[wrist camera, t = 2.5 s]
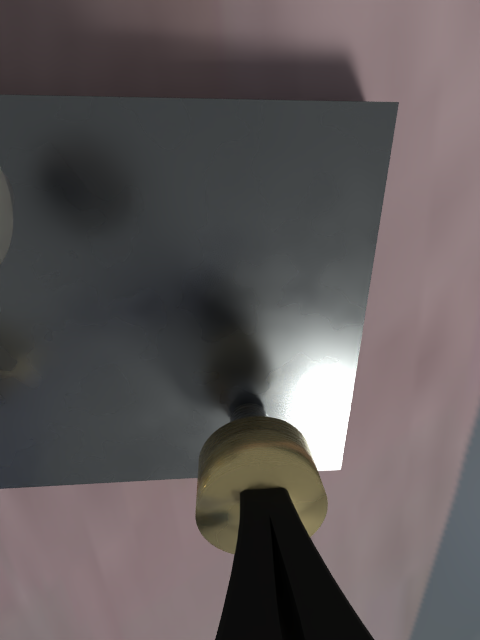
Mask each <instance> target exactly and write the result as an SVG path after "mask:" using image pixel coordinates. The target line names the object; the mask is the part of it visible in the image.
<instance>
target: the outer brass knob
mask: <svg viewBox="0 0 480 640" xmlns="http://www.w3.org/2000/svg"><path fill="white" fill-rule="evenodd" d="M269 488H285V489H286V490H288V493H289V495H290V498H291V500H292V502H293V504H294V507H295V509H296V511H297V513H298V515H299V517H300V519H301V521H302V523H303V525H304V527H305V529H306V531H307V533H308V535H309V536H310V537H311V536H312V535H313V534H314V533H315V532H316V531H317V530H318V528H319V527H320V526H321V524H322V523H323V521H324V518H325V516H326V513H327V506H328V502H327V496H326V493H325V490H324V487H323V484H322V482H321V479H320V476H319V473H318V470H317V468H316V465H315V462H314V459H313V456H312V454H311V451H310V448H309V445H308V442H307V441H306V439H305V437H304V436H303V434H302V433H301V432H300V431H299V430H298V429H297V428H296V427H294V426H293V425H291V424H289V423H288V422H286V421H283V420H280V419H277V418H273V417H268V416H267V413H266V411H265V410H264V409H263V408H262V407H261V406H259V405H257V404H251V403H249V404H243V405H241V406H239V407H237V408H236V409H235V410H234V411H233V412H232V414H231V416H230V423H227V424H225V425H224V426H222V427H220V428H219V429H218V430H216V431H215V432H214V433H213V434H212V435H211V436H210V437H209V438H208V439H207V440H206V442H205V443H204V445H203V447H202V449H201V452H200V456H199V465H198V482H197V498H196V523H197V526H198V529H199V531H200V532H201V534H202V535H203V537H204V538H205V539H206V540H207V541H208V542H209V543H211V544H212V545H214V546H215V547H217V548H219V549H221V550H223V551H225V552H228V553H231V554H235V549H236V544H237V537H238V529H239V520H240V492H242V491H243V490H252V489H269Z"/></svg>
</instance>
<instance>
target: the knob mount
mask: <svg viewBox="0 0 480 640" xmlns="http://www.w3.org/2000/svg"><path fill="white" fill-rule="evenodd" d="M398 104H399V102H358V101H306V100H254V99H202V98H150V97H98V96H46V95H0V168H1V170H2V172H3V173H4V174H5V175H6V177H7V178H8V180H9V182H10V184H11V186H12V189H13V194H14V205H13V230H12V238H11V242H10V246H9V249H8V251H7V253H6V256H5V258H4V260H3V261H2V263H1V265H0V489H4V488H22V487H40V486H58V485H75V484H93V483H111V482H129V481H147V480H165V479H182V478H198V465H199V456H200V452H201V449H202V447H203V445H204V443H205V442H206V440H207V439H208V438H209V437H210V436H211V435H212V434H213V433H214V432H215V431H216V430H218V429H219V428H220V427H222V426H224V425H225V424H227V423H230V416H231V414H232V412H233V411H234V410H235V409H236V408H237V407H239V406H241V405H243V404H249V403H251V404H257V405H259V406H261V407H262V408H263V409H264V410H265V411H266V413H267V416H268V417H273V418H277V419H280V420H283V421H286V422H288V423H289V424H291V425H293V426H294V427H296V428H297V429H298V430H299V431H300V432H301V433H302V434H303V436H304V437H305V439H306V441H307V442H308V445H309V448H310V451H311V454H312V456H313V459H314V462H315V465H316V468H317V470H318V471H325V470H340V469H341V463H342V457H343V451H344V444H345V438H346V432H347V425H348V419H349V413H350V406H351V400H352V394H353V388H354V381H355V375H356V369H357V362H358V356H359V350H360V343H361V337H362V331H363V325H364V318H365V312H366V306H367V299H368V293H369V287H370V280H371V274H372V268H373V262H374V255H375V249H376V243H377V236H378V230H379V224H380V217H381V211H382V205H383V199H384V192H385V186H386V180H387V173H388V167H389V161H390V154H391V148H392V142H393V136H394V129H395V123H396V117H397V110H398Z"/></svg>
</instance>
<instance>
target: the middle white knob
mask: <svg viewBox="0 0 480 640" xmlns="http://www.w3.org/2000/svg"><path fill="white" fill-rule="evenodd" d="M13 205H14V194H13V189H12V186H11V184H10V182H9V180H8V178H7V177H6V175H5V174H4V173H3V172H2V170H1V168H0V265H1V263H2V261H3V260H4V258H5V256H6V253H7V251H8V249H9V246H10V242H11V238H12V230H13Z"/></svg>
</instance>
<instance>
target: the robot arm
mask: <svg viewBox="0 0 480 640" xmlns="http://www.w3.org/2000/svg"><path fill="white" fill-rule="evenodd" d="M215 640H374V639H373V637H372V636H371V634H370V633H369V631H368V630H367V629H366V627H365V626H364V624H363V623H362V621H361V620H360V618H359V617H358V615H357V614H356V612H355V611H354V609H353V608H352V606H351V605H350V603H349V602H348V600H347V599H346V597H345V595H344V594H343V592H342V591H341V589H340V588H339V586H338V584H337V583H336V581H335V580H334V578H333V576H332V575H331V573H330V571H329V570H328V568H327V566H326V565H325V563H324V561H323V559H322V558H321V556H320V554H319V552H318V551H317V549H316V547H315V546H314V544H313V542H312V540H311V538H310V536H309V535H308V533H307V531H306V529H305V527H304V525H303V523H302V521H301V519H300V517H299V515H298V513H297V511H296V509H295V507H294V504H293V502H292V500H291V498H290V495H289V493H288V490H286V489H285V488H269V489H252V490H243V491H242V492H240V520H239V529H238V537H237V544H236V549H235V555H234V561H233V567H232V572H231V577H230V581H229V586H228V590H227V594H226V599H225V603H224V607H223V612H222V616H221V619H220V623H219V627H218V631H217V635H216V638H215Z"/></svg>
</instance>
